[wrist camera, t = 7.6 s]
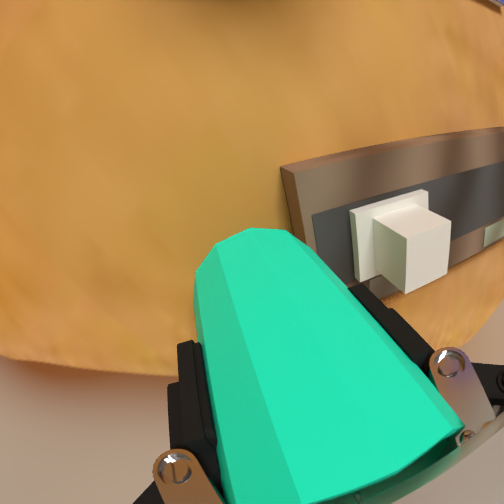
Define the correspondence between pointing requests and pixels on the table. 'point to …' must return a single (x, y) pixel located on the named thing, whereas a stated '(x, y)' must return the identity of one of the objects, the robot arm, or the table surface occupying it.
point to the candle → (307, 380)
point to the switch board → (398, 183)
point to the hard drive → (498, 2)
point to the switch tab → (400, 241)
